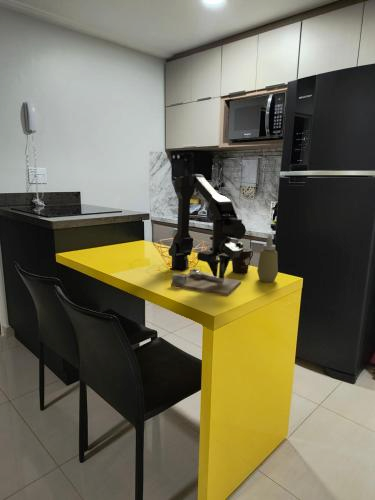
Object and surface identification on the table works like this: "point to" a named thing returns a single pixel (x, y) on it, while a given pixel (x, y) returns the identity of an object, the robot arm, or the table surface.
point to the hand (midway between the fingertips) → (219, 275)
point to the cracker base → (205, 284)
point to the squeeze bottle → (268, 262)
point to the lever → (201, 275)
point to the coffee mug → (242, 261)
